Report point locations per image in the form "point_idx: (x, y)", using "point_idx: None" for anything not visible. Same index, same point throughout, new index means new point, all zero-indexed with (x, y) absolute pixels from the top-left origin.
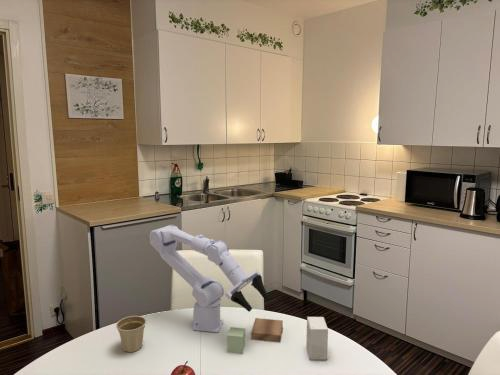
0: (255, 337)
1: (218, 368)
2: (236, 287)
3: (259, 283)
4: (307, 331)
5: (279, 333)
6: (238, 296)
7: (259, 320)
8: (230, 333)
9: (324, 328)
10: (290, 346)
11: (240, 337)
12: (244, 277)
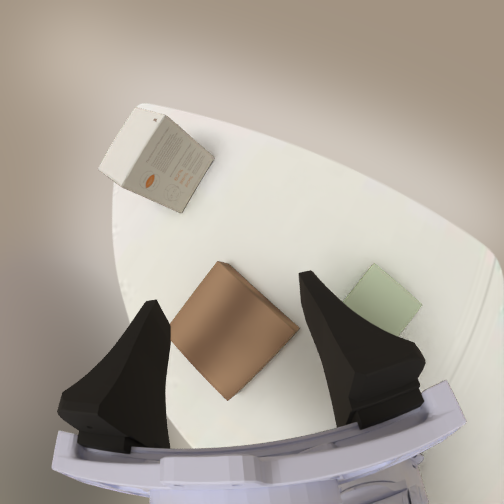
0: (286, 318)
1: (457, 237)
2: (370, 441)
3: (118, 371)
4: (158, 184)
5: (213, 271)
6: (394, 339)
7: (224, 380)
8: (405, 310)
9: (137, 110)
10: (216, 230)
11: (380, 268)
12: (204, 497)
